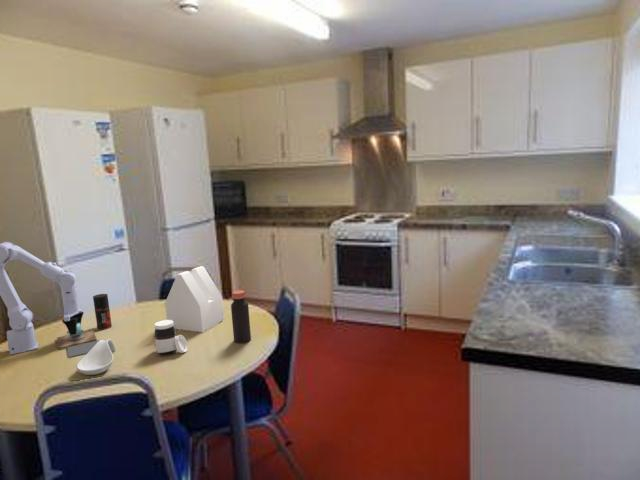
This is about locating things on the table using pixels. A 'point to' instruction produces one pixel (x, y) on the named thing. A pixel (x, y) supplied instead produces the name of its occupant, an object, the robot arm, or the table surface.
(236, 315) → the bottle
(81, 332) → the teal ovoid with tab
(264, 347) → the table surface
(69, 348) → the mat
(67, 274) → the robot arm
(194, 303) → the white peaked block
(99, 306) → the deodorant
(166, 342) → the spread jar
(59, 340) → the post board
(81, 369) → the spoon rest
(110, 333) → the table surface
